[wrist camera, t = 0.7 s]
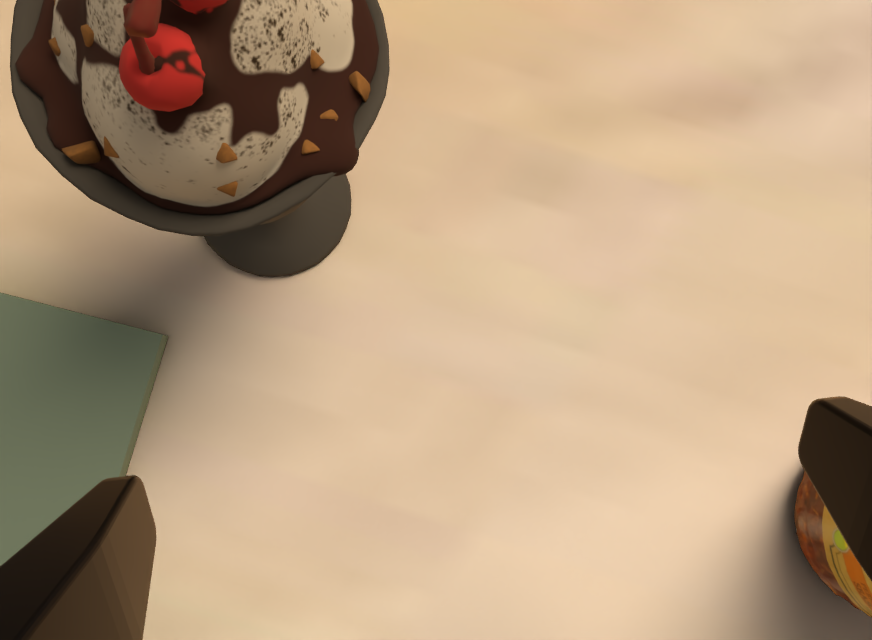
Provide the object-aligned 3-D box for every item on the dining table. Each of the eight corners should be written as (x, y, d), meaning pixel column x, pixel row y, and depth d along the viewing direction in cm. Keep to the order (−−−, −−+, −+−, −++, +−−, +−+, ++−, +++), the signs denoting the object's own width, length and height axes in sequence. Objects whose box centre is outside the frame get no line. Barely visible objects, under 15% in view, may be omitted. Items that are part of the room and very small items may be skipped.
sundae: (278, 348, 22) (99, 256, 7) (123, 202, 22) (-384, -196, 7) (420, 202, 23) (525, -147, 8) (272, 63, 23) (101, -549, 8)
